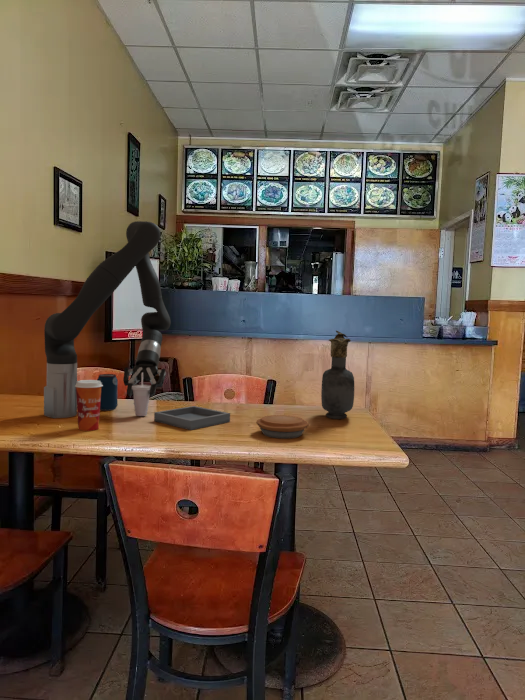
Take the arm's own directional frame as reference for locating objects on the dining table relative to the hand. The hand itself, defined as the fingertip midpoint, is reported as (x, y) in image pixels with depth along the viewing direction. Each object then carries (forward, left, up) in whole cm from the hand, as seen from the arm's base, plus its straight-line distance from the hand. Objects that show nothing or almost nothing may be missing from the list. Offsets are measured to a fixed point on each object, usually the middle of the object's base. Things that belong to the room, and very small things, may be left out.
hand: (140, 395), depth 170 cm
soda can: (0, +19, -8) cm, 20 cm away
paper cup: (-21, -3, -8) cm, 22 cm away
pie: (+16, -46, -8) cm, 49 cm away
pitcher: (+52, -43, -8) cm, 68 cm away
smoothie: (+1, +1, -7) cm, 7 cm away
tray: (+8, -16, -7) cm, 19 cm away
